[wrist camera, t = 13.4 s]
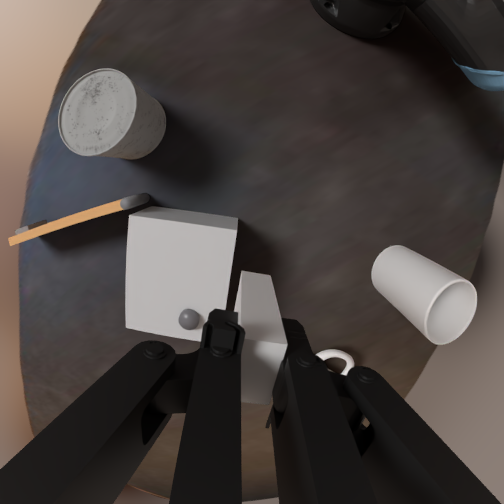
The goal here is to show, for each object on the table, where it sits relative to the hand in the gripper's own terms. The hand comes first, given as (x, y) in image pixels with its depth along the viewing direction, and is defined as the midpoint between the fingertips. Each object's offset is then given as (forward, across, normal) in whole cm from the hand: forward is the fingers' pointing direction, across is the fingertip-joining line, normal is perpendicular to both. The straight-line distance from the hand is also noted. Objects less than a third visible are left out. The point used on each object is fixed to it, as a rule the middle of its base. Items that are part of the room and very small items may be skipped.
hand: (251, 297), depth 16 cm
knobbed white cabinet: (+26, -7, -7) cm, 28 cm away
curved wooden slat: (+26, -24, -3) cm, 35 cm away
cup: (+26, +24, -3) cm, 36 cm away
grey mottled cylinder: (+26, -18, +10) cm, 33 cm away
